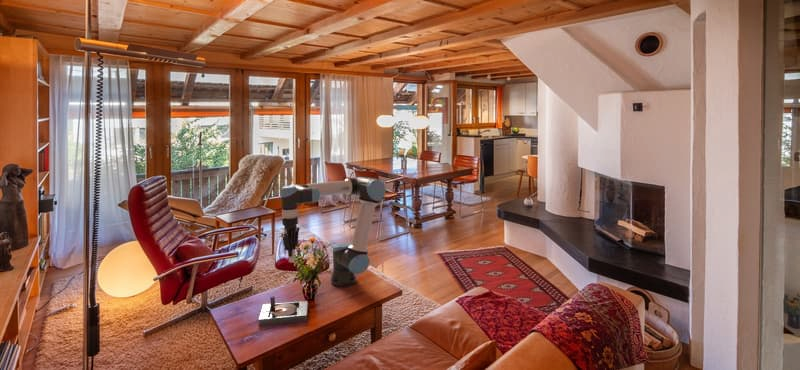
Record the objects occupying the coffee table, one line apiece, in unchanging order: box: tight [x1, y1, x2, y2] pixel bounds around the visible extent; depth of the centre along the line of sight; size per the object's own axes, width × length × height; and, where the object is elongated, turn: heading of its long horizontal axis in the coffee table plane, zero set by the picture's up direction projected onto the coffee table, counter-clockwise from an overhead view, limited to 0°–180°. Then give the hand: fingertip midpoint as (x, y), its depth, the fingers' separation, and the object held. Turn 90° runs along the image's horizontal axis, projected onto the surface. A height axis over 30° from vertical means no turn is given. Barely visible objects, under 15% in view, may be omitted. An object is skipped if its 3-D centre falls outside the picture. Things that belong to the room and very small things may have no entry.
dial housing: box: [258, 300, 309, 327], centre depth 205 cm, size 22×16×4 cm
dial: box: [269, 295, 297, 317], centre depth 204 cm, size 12×12×9 cm
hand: (291, 261), depth 211 cm, fingers closed
